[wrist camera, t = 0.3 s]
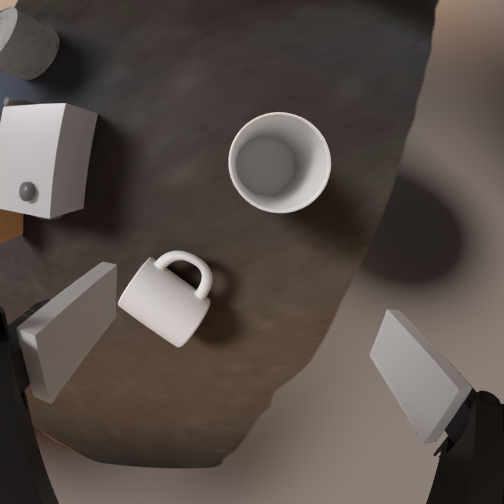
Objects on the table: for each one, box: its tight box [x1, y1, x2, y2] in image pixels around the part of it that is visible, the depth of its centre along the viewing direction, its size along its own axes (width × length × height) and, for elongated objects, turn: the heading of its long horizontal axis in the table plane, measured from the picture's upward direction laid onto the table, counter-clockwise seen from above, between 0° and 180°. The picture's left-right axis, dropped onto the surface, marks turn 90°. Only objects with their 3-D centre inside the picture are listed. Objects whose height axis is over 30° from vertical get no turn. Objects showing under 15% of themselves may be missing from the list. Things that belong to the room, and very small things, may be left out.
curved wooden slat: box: [0, 97, 37, 243], centre depth 33 cm, size 22×2×7 cm, turn 168°
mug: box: [118, 251, 213, 347], centre depth 38 cm, size 12×10×8 cm
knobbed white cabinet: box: [0, 103, 98, 220], centre depth 32 cm, size 15×12×10 cm
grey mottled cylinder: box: [0, 7, 59, 80], centre depth 25 cm, size 10×10×12 cm
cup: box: [229, 112, 331, 213], centre depth 31 cm, size 8×8×16 cm
